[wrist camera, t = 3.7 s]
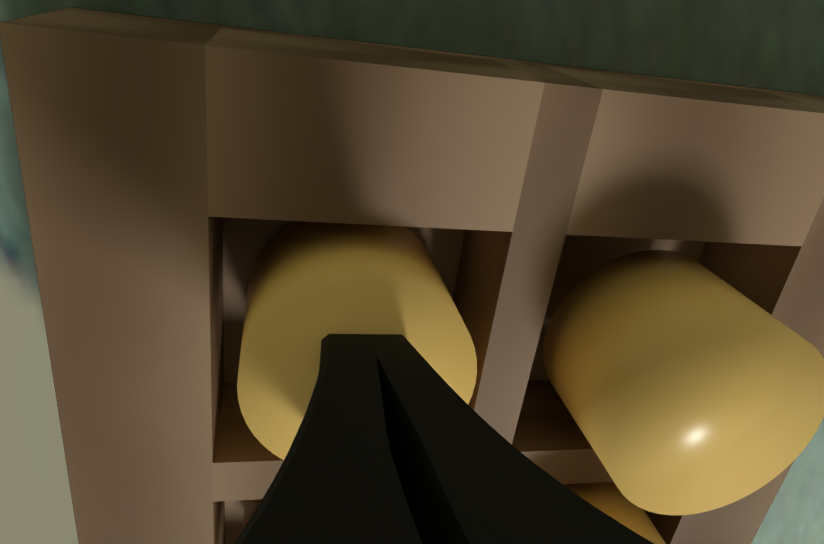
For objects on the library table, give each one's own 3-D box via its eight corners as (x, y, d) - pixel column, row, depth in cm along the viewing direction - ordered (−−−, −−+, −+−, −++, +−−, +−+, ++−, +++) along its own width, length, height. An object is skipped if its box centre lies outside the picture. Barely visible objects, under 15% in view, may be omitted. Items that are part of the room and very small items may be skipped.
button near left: (451, 214, 12) (496, 282, 10) (424, 375, 14) (457, 470, 11) (248, 203, 11) (238, 274, 9) (246, 377, 13) (236, 479, 11)
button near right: (746, 253, 12) (870, 330, 10) (684, 408, 14) (775, 508, 12) (568, 245, 12) (651, 328, 9) (525, 411, 13) (584, 521, 11)
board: (838, 97, 14) (967, 128, 11) (637, 572, 21) (688, 661, 18) (71, 7, 10) (-3, 22, 8) (135, 617, 17) (108, 734, 15)
